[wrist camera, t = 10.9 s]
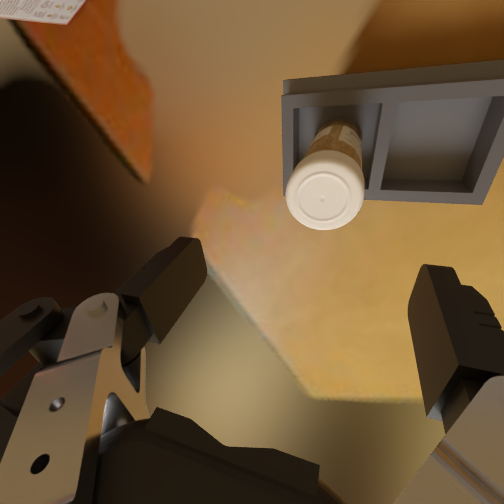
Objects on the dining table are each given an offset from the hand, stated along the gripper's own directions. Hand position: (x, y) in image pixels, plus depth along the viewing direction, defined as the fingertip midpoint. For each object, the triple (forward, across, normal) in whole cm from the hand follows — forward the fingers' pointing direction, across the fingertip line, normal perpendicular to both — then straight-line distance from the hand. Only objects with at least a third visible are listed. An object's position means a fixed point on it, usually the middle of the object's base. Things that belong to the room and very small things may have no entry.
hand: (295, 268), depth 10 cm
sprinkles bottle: (+21, 0, 0) cm, 21 cm away
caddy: (+21, -4, 0) cm, 22 cm away
